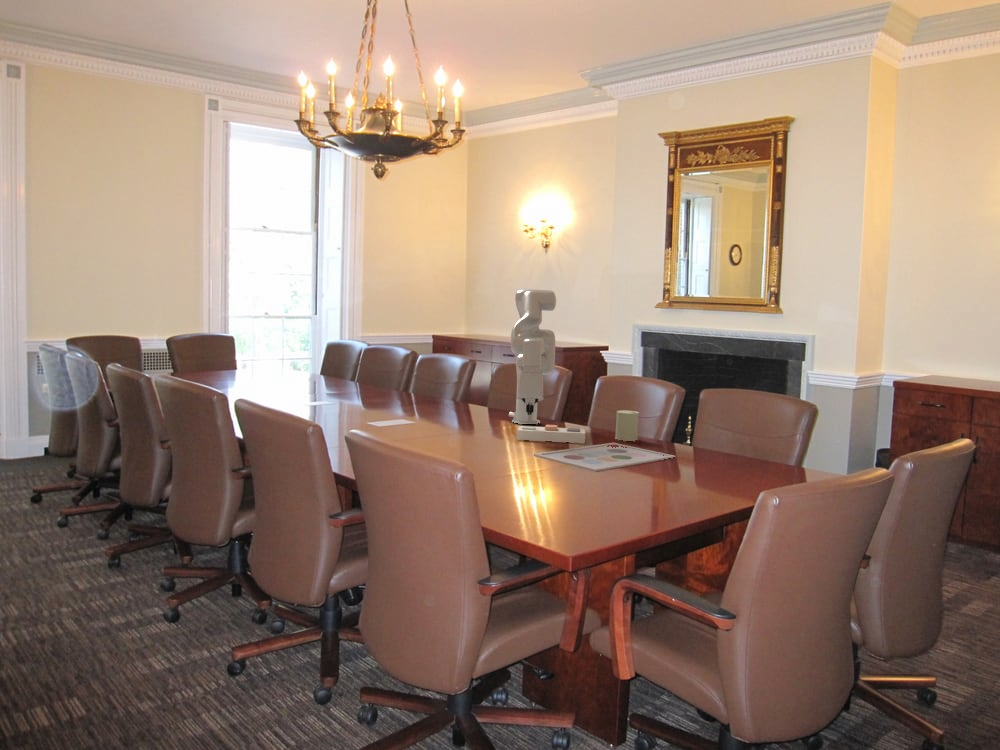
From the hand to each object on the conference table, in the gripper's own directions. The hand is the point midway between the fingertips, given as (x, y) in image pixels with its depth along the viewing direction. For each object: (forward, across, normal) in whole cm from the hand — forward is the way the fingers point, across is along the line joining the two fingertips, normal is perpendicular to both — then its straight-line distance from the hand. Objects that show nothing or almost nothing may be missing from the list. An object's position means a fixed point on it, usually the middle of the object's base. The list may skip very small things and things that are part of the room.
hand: (529, 414), depth 340 cm
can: (+10, +40, +7) cm, 42 cm away
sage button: (+9, 0, -1) cm, 9 cm away
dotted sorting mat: (+9, +29, -32) cm, 44 cm away
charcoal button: (+9, +18, -1) cm, 20 cm away
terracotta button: (+8, +9, -1) cm, 12 cm away
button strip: (+10, +9, -1) cm, 13 cm away
